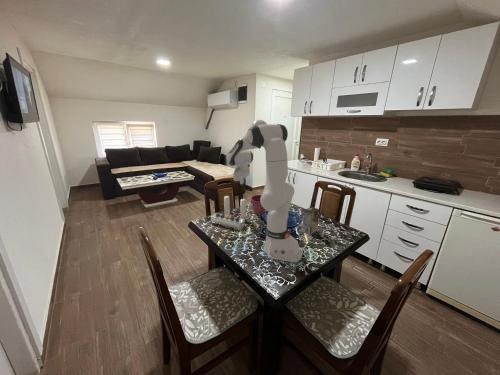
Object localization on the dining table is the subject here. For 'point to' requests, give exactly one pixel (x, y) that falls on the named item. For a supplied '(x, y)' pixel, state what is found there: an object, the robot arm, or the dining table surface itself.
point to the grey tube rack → (228, 220)
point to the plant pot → (257, 204)
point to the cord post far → (226, 205)
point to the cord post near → (243, 208)
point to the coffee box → (310, 220)
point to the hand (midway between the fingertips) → (241, 183)
